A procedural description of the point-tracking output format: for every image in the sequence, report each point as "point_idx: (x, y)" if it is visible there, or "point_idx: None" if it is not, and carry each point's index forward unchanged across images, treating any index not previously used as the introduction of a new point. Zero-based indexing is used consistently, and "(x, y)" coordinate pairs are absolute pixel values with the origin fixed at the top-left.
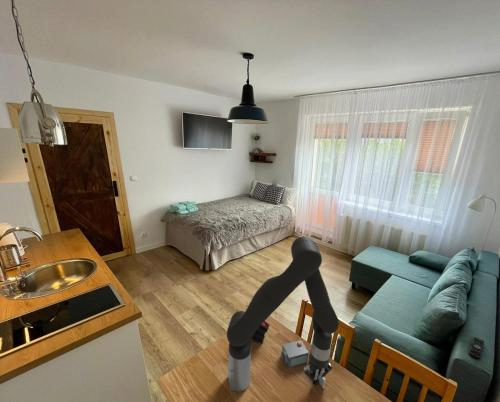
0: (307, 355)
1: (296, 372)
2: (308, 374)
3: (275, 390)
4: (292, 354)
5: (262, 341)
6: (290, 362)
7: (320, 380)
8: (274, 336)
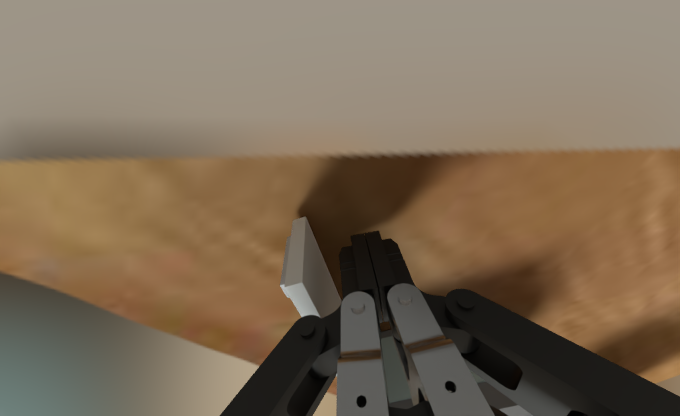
0: None
1: (449, 290)
2: (608, 386)
3: (649, 191)
4: (507, 414)
5: None
6: None
7: (318, 268)
8: None
